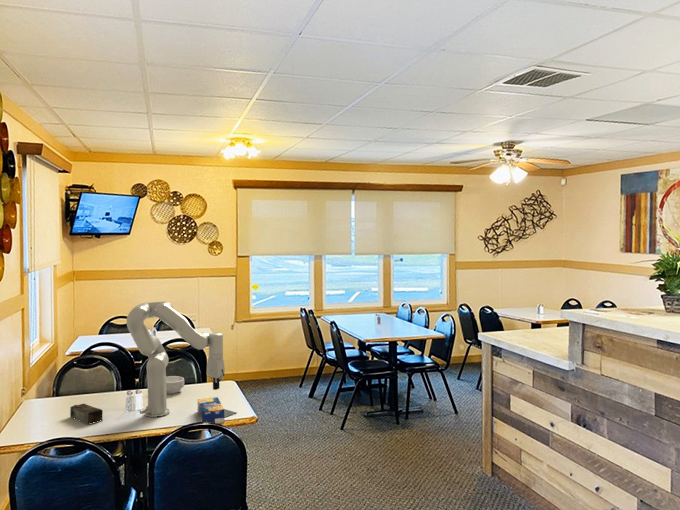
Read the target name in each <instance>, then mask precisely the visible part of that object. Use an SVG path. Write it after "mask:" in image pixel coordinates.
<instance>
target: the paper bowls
mask: <svg viewBox="0 0 680 510" xmlns="http://www.w3.org/2000/svg"><path fill="white" fill-rule="evenodd" d="M184 387H185V378H184V377H182V376H177V375H170V376H169V375H168V376H166V395H172V394H177V393H179V392H180V391H181V390H182V389H183V388H184Z"/></svg>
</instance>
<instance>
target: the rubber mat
mask: <svg viewBox="0 0 680 510" xmlns="http://www.w3.org/2000/svg"><path fill="white" fill-rule="evenodd" d="M236 413H237V412H235V411H233V410H230V409H225V408H224V419H225V418H228V417H231V416H234V415H237V414H236ZM233 414H234V415H233Z"/></svg>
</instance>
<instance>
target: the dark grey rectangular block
mask: <svg viewBox="0 0 680 510" xmlns="http://www.w3.org/2000/svg"><path fill="white" fill-rule="evenodd" d="M103 413H104V412H103V409H100V408H98V407H94V406H92V405H90V404H89V405H88V404H86V403H80V404H74V405H72V406H70V413H69V414H70V418H71V417H72V418H71V419H74V418H75V419H74V420H76V419H77V421H78V420H80V421H79V422H81V421H82V422H81V423H83V422H85V423H84V424H86V423H87V424H86V425H88V424H89V423H93V422H97V421H100V420H102V421H103ZM100 422H101V421H100ZM97 423H98V422H97ZM93 424H94V423H93ZM89 425H90V424H89Z"/></svg>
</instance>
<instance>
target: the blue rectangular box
mask: <svg viewBox="0 0 680 510" xmlns="http://www.w3.org/2000/svg"><path fill="white" fill-rule="evenodd" d="M224 409H225V408H224V407H223V405H222V403H221V401H220V398H219V397H218V396H216V397H207V398H206V397H205V398H200V399H199V398H197V414H198V413H199V414H198V415H199V419H200V418H201V419H200V421H201V420H202V422H211V423H215V424H220V423H221V424H222V423H225V418H224ZM202 422H201V423H202Z"/></svg>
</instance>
